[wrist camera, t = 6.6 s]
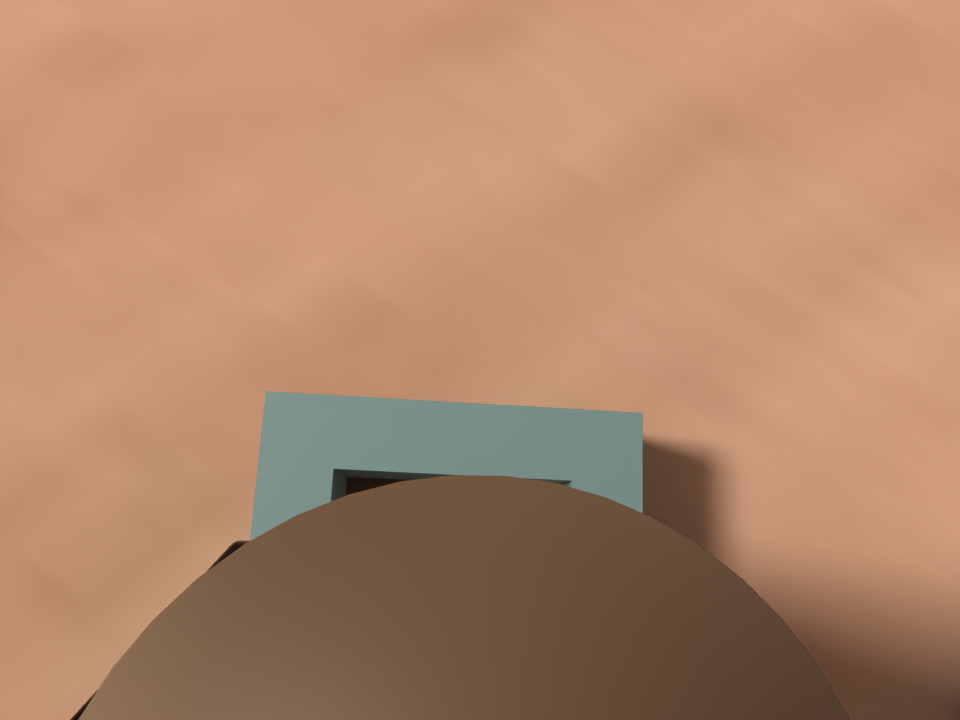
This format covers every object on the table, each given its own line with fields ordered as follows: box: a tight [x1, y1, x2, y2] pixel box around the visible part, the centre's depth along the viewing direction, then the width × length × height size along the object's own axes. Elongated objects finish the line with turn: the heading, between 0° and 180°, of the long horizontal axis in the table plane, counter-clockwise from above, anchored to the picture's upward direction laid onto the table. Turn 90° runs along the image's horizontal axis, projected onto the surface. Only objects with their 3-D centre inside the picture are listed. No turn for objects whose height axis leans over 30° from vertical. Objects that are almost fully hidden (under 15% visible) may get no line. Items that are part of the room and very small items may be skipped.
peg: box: [78, 475, 849, 720], centre depth 10 cm, size 4×4×12 cm
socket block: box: [250, 391, 643, 541], centre depth 21 cm, size 10×10×4 cm
